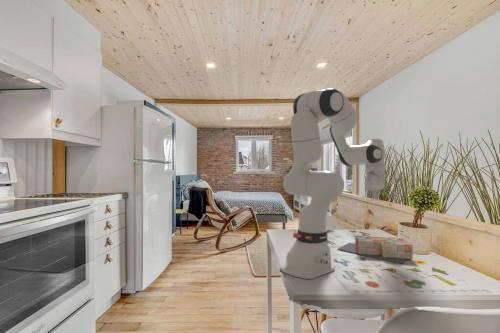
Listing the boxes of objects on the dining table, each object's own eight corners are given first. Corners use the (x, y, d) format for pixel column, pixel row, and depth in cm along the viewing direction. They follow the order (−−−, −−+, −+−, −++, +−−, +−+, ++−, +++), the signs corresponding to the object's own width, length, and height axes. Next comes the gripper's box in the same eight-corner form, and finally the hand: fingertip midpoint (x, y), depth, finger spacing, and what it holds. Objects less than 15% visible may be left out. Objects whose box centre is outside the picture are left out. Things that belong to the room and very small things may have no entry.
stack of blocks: (355, 247, 124) (360, 255, 112) (354, 235, 124) (360, 242, 112) (402, 250, 120) (413, 259, 107) (402, 237, 120) (413, 245, 108)
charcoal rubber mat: (402, 264, 103) (402, 262, 103) (337, 249, 123) (337, 248, 123) (409, 255, 114) (409, 254, 114) (349, 243, 134) (349, 242, 134)
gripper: (375, 171, 114) (375, 201, 114) (387, 171, 129) (387, 197, 129) (361, 171, 119) (361, 200, 118) (374, 171, 134) (374, 197, 133)
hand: (375, 198), depth 124 cm, fingers closed
